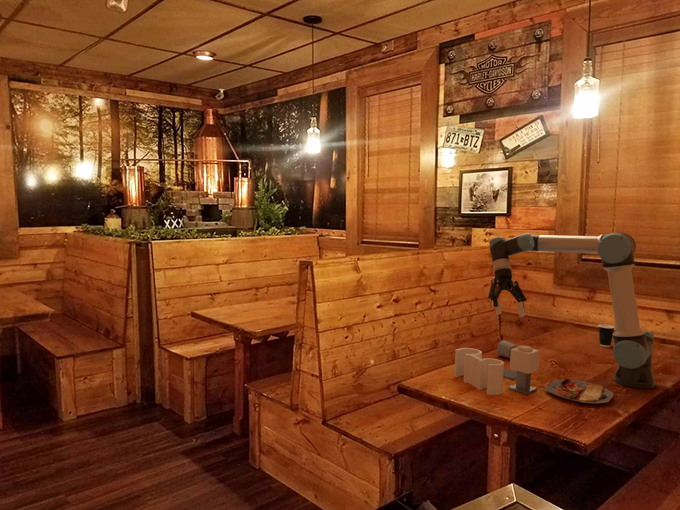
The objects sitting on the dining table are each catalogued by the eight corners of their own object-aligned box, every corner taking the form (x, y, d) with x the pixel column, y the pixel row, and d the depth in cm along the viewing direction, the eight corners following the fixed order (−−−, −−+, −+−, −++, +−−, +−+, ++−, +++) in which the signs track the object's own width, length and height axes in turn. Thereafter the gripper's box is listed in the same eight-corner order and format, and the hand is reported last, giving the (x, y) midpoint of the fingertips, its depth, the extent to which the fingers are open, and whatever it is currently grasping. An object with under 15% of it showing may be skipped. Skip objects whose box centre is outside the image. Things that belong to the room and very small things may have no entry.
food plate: (558, 379, 223) (559, 371, 223) (618, 393, 209) (619, 385, 208) (538, 397, 204) (539, 388, 204) (603, 414, 190) (604, 404, 189)
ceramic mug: (509, 360, 250) (510, 345, 249) (496, 356, 257) (497, 341, 256) (523, 358, 256) (525, 342, 255) (510, 353, 263) (511, 338, 262)
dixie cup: (596, 346, 279) (598, 326, 278) (597, 343, 286) (598, 323, 285) (613, 348, 276) (614, 328, 275) (613, 345, 283) (614, 325, 282)
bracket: (508, 393, 206) (510, 363, 205) (487, 396, 203) (489, 366, 201) (471, 373, 229) (472, 347, 228) (452, 376, 226) (453, 348, 225)
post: (537, 390, 210) (538, 363, 209) (527, 394, 205) (528, 367, 204) (518, 385, 216) (520, 359, 215) (508, 389, 211) (510, 362, 209)
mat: (524, 375, 229) (524, 374, 229) (512, 379, 222) (512, 378, 222) (503, 369, 236) (503, 368, 236) (491, 373, 230) (491, 372, 230)
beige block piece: (538, 369, 209) (539, 348, 208) (528, 373, 204) (529, 351, 203) (519, 365, 215) (521, 343, 214) (509, 368, 210) (511, 347, 209)
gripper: (517, 275, 246) (525, 319, 238) (475, 270, 235) (483, 315, 227) (528, 270, 240) (538, 315, 231) (486, 264, 229) (494, 310, 221)
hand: (510, 315), depth 229 cm, fingers open, 13 cm apart
